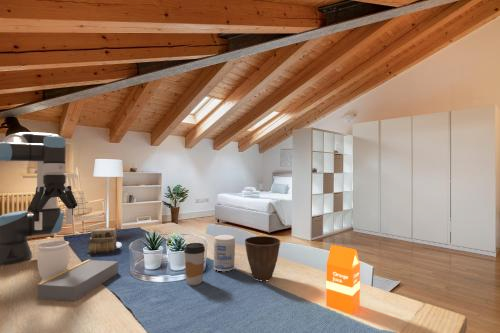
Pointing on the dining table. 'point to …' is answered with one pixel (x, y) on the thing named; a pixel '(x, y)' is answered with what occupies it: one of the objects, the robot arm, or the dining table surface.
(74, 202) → the robot arm
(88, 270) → the dock
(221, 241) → the supplement tub
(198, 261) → the coffee cup
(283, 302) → the dining table surface
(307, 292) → the dining table surface
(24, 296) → the dining table surface
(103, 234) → the wicker basket
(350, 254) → the orange juice
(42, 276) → the jar
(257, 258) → the plant pot
